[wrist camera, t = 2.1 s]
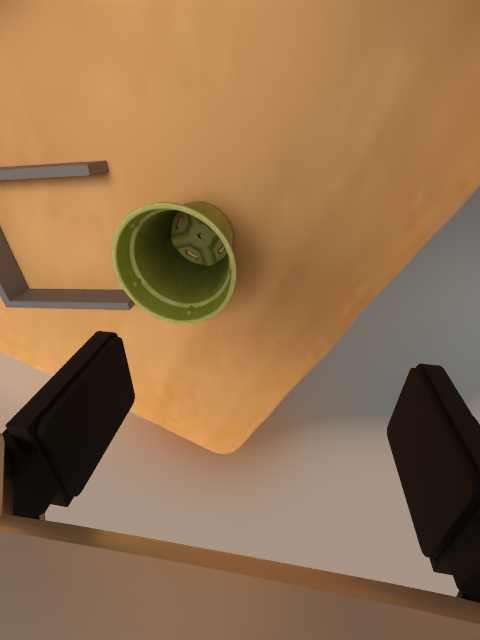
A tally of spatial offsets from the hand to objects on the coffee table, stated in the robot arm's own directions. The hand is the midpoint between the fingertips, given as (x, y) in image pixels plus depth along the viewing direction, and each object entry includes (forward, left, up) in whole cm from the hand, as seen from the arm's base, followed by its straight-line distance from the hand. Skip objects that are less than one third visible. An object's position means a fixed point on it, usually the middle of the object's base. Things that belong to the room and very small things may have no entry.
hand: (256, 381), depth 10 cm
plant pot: (+8, +1, -21) cm, 23 cm away
